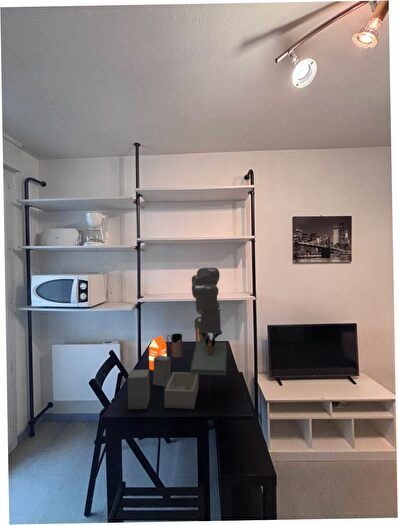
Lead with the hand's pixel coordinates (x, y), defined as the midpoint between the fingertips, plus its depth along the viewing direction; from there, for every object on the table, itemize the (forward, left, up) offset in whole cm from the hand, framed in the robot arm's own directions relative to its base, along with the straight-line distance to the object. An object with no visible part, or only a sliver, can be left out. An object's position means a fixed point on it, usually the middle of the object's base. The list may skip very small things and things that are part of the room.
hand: (210, 345), depth 129 cm
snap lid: (+3, 0, -5) cm, 6 cm away
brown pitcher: (-55, -30, -25) cm, 68 cm away
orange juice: (-31, -36, -25) cm, 54 cm away
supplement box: (+11, -34, -25) cm, 44 cm away
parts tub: (+3, -14, -25) cm, 29 cm away
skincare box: (-10, -28, -25) cm, 39 cm away
